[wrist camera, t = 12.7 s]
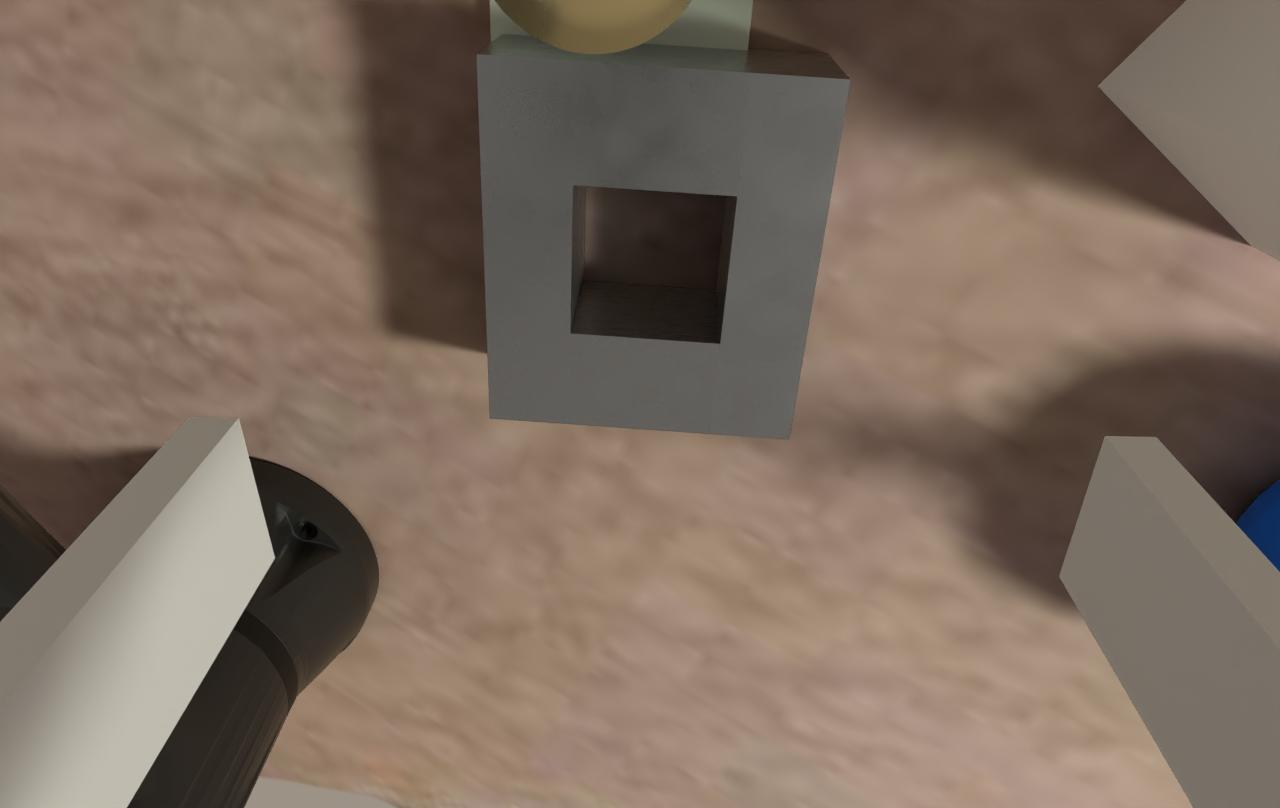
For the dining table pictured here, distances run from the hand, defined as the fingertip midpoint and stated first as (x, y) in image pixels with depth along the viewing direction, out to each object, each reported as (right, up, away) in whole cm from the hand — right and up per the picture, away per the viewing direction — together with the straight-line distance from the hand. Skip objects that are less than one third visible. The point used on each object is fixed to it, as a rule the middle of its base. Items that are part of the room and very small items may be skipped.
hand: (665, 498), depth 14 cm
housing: (0, +10, +28) cm, 30 cm away
